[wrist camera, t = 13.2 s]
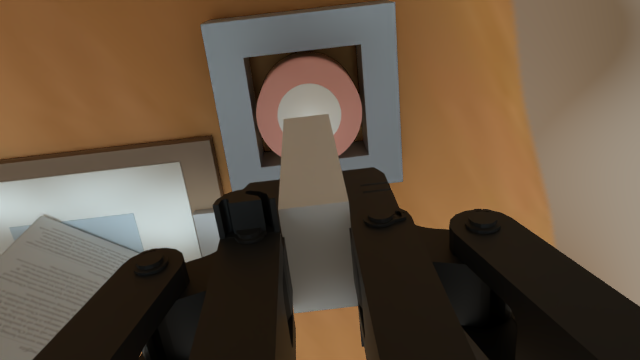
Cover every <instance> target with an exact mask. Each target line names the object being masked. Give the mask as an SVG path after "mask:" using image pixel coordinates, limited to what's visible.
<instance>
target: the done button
mask: <svg viewBox="0 0 640 360" xmlns="http://www.w3.org/2000/svg"><path fill="white" fill-rule="evenodd" d="M322 114H329V118H330V123H331V127H332V131H333V136H334V140H335V144H336V148H337V153H338V156H339V155H341V154H342V153H343V152H344V151H346V149H347V148H348V147H349V146H350V145H351V144H352V143H353V141H354V140H355V138H356V136H357V134H358V132H359V129H360V125H361V121H362V105H361V100H360V97H359V94H358V92H357V89H356V88H355V86H354V84H353V82H352V80H351V78H350V76H349V75H348V73H347V71H346V70H345V69H344V68H343V67H342V66H341V65H340V64H339V63H338V62H337V61H335V60H334V59H332V58H330V57H329V56H326V55H324V54H321V53H316V52H300V53H295V54H292V55H289V56H287V57H285V58H283V59H282V60H280V61H279V62H278V63H277V64H275V65H274V66H273V68H272V69H271V70H270V71H269V73H268V74H267V76H266V78H265V80H264V82H263V85H262V88H261V92H260V95H259V98H258V102H257V107H256V118H257V124H258V128H259V131H260V134H261V136H262V137H263V139H264V141H265V142H266V144H267V145H268V146H269V147H270V148H271V149H272V150H273V151H274V152H275V153H276V154H277V155H279V156H281V153H282V137H283V120H284V119H288V118H297V117H305V116H314V115H322Z"/></svg>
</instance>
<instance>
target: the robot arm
mask: <svg viewBox="0 0 640 360" xmlns="http://www.w3.org/2000/svg"><path fill="white" fill-rule="evenodd" d="M213 210H214V215H215V219H216V224H217V228H218V233H219V238H220V240H219V244H218V248H217V251H216V252H214V253H212V254H210V255H207V256H204V257H202V258H198V259H195V260H192V261H188V262H185V260H184V257H183V254H182V252H180V251H178V250H177V249H172V248H154V249H150V250H149V251H148V250H146V251H143V252H141V253H140V254H138V255H136V256H134V257H132V258H130V259H129V260H128V261H126V262H125V263H124V264H123V265H122V266H121V267H120V268H119V269H118V270H117V271H116V272H115V273H114V274H113V275H112V276H111V277H110V278H109V279H108V280H107V281H106V282H105V283H104V285H103V286H102V287H101V288H100V289H99V290H98V291H97V292H96V293H95V294H94V295H93V296H92V297H91V298H90V299H89V300H88V301H87V303H86V304H85V305H84V306H83V307H82V308H81V309H80V310H79V311H78V312H77V313H76V314H75V315H74V316H73V317H72V318H71V319H70V320H69V322H68V323H67V324H66V325H65V326H64V327H63V328H62V329H61V330H60V331H59V332H58V333H57V334H56V335H55V336H54V337H53V338H52V340H51V341H50V342H49V343H48V344H47V345H46V346H45V347H44V348H43V349H42V350H41V351H40V352H39V353H38V354H37V355H36V356H35V357H34V359H33V360H296V328H295V321H294V315H293V308H294V313H301V312H309V311H318V310H327V309H335V308H344V307H352V306H358V309H359V320H360V331H361V342H362V347H363V346H364V348H365V353H366V359H367V360H640V307H639V306H638V305H637V304H635V303H634V302H632V301H631V300H629V299H628V298H626V297H625V296H624V295H622V294H621V293H619V292H618V291H616V290H615V289H613V288H612V287H611V286H609V285H608V284H606V283H605V282H603V281H602V280H600V279H599V278H597V277H596V276H594V275H593V274H592V273H590V272H589V271H587V270H586V269H584V268H583V267H582V266H580V265H579V264H577V263H576V262H574V261H573V260H572V259H570V258H568V257H567V256H566V255H564V254H563V253H561V252H560V251H559V250H557V249H556V248H554V247H553V246H551V245H550V244H548V243H547V242H546V241H544V240H543V239H541V238H540V237H538V236H537V235H536V234H534V233H533V232H531V231H530V230H528V229H527V228H525V227H524V226H523V225H521V224H520V223H518V222H517V221H515V220H514V219H512V218H511V217H509V216H507V215H505V214H503V213H500V212H496V211H491V210H489V209H483V210H481V209H474V210H469V211H464V212H461V213H459V214H456V215H455V216H454V217H453V218H452V219H451V220H450V225H449V230H446V229H432V228H425V227H421V226H417V225H415V224H414V221H413V219H412V217H411V216H410V215H409V213H408V212H407V211H405V210H403V209H400V208H399V206H398V204H397V202H396V199H395V197H394V195H393V192H392V190H391V188H390V185H389V183H388V181H387V178H386V176H385V174H384V173H383V172H381V171H380V170H378V169H376V168H375V167H370V168H361V169H353V170H344V171H342V170H341V166H340V161H339V157H338V153H337V148H336V144H335V140H334V136H333V131H332V127H331V123H330V118H329V114H322V115H314V116H305V117H297V118H288V119H284V120H283V137H282V153H281V169H280V179H279V180H270V181H261V182H253V183H249V184H248V185H247V186H246V187H245V188H244V189H241V190H236V191H233V192H230V193H228V194H225V195H223V196H222V197H220V198H218V199H217V200H216V201H215V203H214V204H213ZM141 352H142V354H141ZM140 354H141V356H140ZM139 356H140V357H139Z"/></svg>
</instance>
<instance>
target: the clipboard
mask: <svg viewBox="0 0 640 360" xmlns="http://www.w3.org/2000/svg"><path fill="white" fill-rule="evenodd" d="M222 196H223V190H222V185H221V180H220V175H219V170H218V165H217V160H216V155H215V150H214V145H213V140H212V136H204V137H196V138H187V139H178V140H170V141H161V142H152V143H144V144H135V145H126V146H118V147H109V148H100V149H91V150H83V151H74V152H65V153H57V154H48V155H39V156H31V157H22V158H13V159H5V160H0V255H1V254H2V253H3V252H4V251H5V250H6V249H7V248H8V247H9V246H10V245H11V244H12V243H13V242H14V241H15V240H16V239H17V238H19V237H20V236H21V235H22V234H23V233H24V232H25V231H26V230H27V229H28V228H29V227H30V226H31V225H32V224H33V223H34V222H35V221H36V220H37V219H38V218H39V217H40V216H44V217H47V218H49V219H52V220H54V221H57V222H60V223H62V224H65V225H67V226H70V227H72V228H75V229H78V230H80V231H83V232H85V233H88V234H90V235H93V236H95V237H98V238H101V239H103V240H106V241H108V242H111V243H114V244H116V245H119V246H121V247H124V248H126V249H129V250H132V251H134V252H137V253H141V252H143V251H146V250H148V251H149V250H150V249H154V248H172V249H177V250H178V251H180V252H182V254H183V257H184V260H185V262H188V261H192V260H195V259H198V258H202V257H204V256H207V255H210V254H212V253H214V252H216V251H217V248H218V244H219V240H220V238H219V233H218V228H217V224H216V219H215V215H214V210H213V204H214V203H215V201H216V200H217V199H218V198H220V197H222Z"/></svg>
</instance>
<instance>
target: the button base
mask: <svg viewBox="0 0 640 360" xmlns="http://www.w3.org/2000/svg"><path fill="white" fill-rule="evenodd" d="M201 31H202V36H203V41H204V46H205V52H206V57H207V62H208V67H209V72H210V78H211V83H212V88H213V93H214V99H215V104H216V109H217V114H218V120H219V125H220V130H221V135H222V140H223V146H224V151H225V156H226V161H227V167H228V172H229V177H230V182H231V187H232V192H233V191H236V190H241V189H244V188H245V187H246V186H247V185H248V184H249V183H253V182H261V181H270V180H279V179H280V169H281V156H279V155H277V154H276V153H275V152H274V151H270V152H264V149H263V143H262V137H261V134H260V131H259V128H258V124H257V118H256V107H257V105H256V99H255V93H254V86H253V80H252V74H251V68H250V61H249V57H255V56H263V55H272V54H281V53H289V52H298V51H307V50H315V49H324V48H333V47H342V46H350V45H356V54H357V67H358V80H359V93H360V100H361V105H362V132H363V141H357V142H353V143H352V144H351V145H350V146H349V147H348V148H347V149H346V151H344V152H343V153H342V154H341V155H339V156H338V157H339V161H340V166H341V170H342V171H344V170H353V169H361V168H370V167H375V168H376V169H378V170H380V171H381V172H383V173H384V174H385V176H386V178H387V181H388V183H395V182H403V171H402V148H401V126H400V104H399V82H398V59H397V37H396V15H395V2H392V1H389V0H380V1H371V2H362V3H354V4H345V5H336V6H328V7H319V8H310V9H301V10H293V11H284V12H275V13H267V14H258V15H249V16H241V17H232V18H223V19H215V20H208V21H206V22H204V23H203V24H201Z"/></svg>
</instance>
